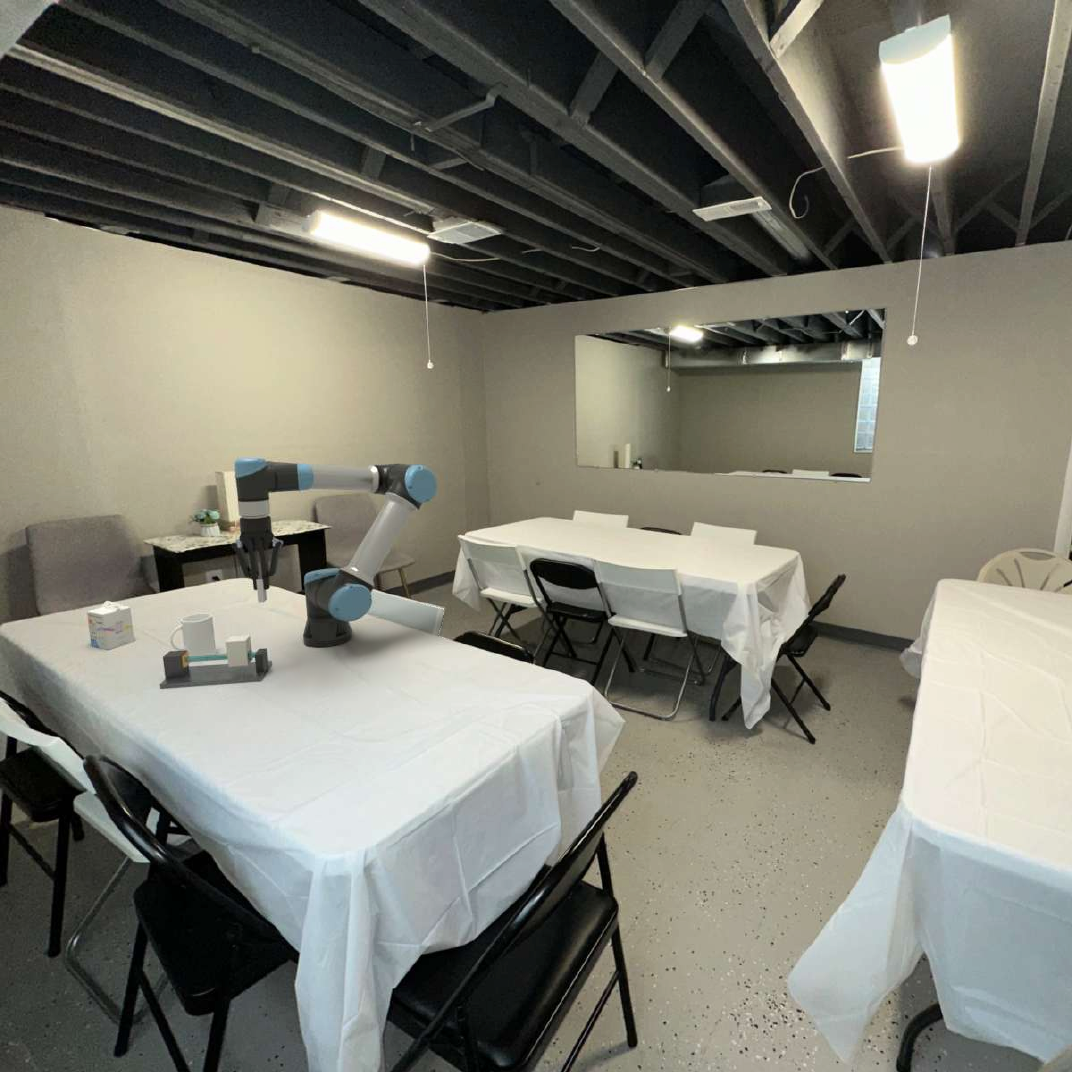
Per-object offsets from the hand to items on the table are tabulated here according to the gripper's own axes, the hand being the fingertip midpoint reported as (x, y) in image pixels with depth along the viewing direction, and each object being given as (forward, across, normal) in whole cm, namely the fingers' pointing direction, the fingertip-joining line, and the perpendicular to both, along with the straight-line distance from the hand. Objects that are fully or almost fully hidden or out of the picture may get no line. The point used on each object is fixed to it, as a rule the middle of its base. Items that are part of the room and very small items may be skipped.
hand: (262, 600), depth 156 cm
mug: (+21, +25, -16) cm, 37 cm away
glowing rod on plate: (+21, +13, 0) cm, 25 cm away
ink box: (+21, +55, -32) cm, 67 cm away
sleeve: (+18, +7, 0) cm, 19 cm away
